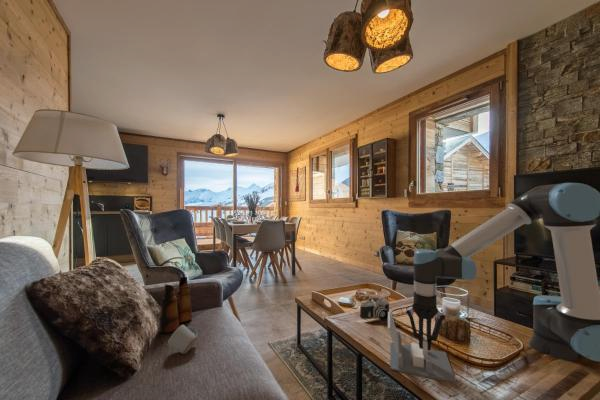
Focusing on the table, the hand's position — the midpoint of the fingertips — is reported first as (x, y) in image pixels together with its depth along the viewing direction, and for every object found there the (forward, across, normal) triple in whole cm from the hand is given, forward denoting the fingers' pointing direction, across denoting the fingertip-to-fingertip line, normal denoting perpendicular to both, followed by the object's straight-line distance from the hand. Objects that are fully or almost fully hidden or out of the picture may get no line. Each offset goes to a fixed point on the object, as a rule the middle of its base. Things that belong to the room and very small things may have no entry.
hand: (424, 357), depth 93 cm
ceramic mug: (+2, +88, +23) cm, 91 cm away
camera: (+2, +18, -30) cm, 36 cm away
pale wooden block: (+1, +2, 0) cm, 3 cm away
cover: (-3, +9, 0) cm, 9 cm away
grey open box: (+2, +2, 0) cm, 2 cm away
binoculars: (+2, +108, +7) cm, 108 cm away
